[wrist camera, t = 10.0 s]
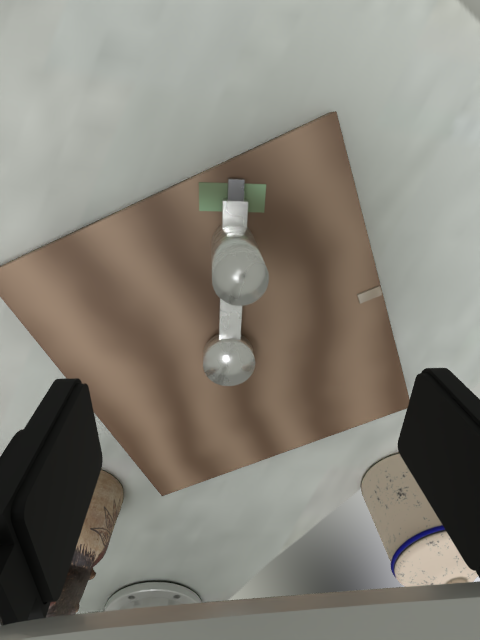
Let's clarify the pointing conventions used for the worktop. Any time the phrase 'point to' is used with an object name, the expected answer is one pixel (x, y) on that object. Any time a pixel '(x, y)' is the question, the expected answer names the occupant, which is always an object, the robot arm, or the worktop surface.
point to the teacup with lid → (411, 528)
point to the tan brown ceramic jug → (90, 543)
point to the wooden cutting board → (203, 314)
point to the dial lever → (234, 289)
